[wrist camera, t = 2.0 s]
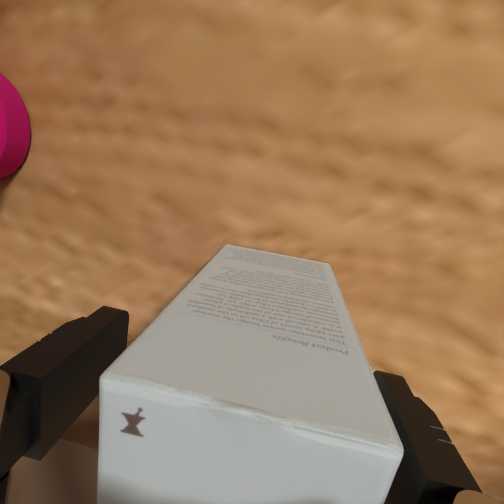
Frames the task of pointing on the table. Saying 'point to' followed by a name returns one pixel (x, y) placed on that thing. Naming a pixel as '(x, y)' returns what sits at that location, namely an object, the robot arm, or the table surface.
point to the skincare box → (247, 395)
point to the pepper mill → (12, 128)
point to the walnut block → (62, 467)
